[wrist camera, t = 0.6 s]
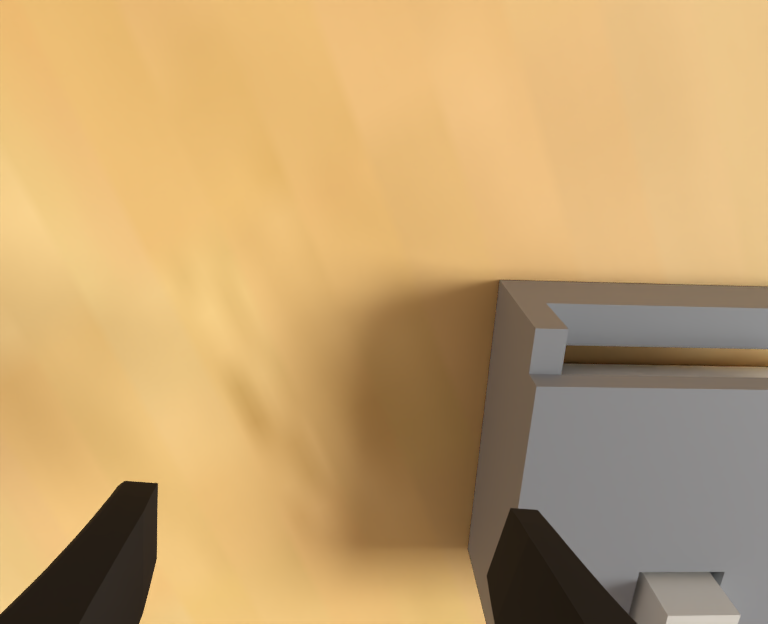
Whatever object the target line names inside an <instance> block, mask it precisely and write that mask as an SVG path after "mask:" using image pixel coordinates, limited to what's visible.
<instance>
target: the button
mask: <svg viewBox="0 0 768 624" xmlns="http://www.w3.org/2000/svg"><path fill="white" fill-rule="evenodd" d="M629 616H630V617H631V618H632V619H633V620H634V621H635V622H636V623H637V624H738V622H739V619H740V616H741V615H740V613H739V612H738V611H737V609H736V608H735V607H734V605H733V604H732V602H731V601H730V600H729V598H728V597H727V596H726V594H725V593H724V591H723V590H722V589H721V587H720V586H719V585H718V583H717V582H716V580H715V579H714V578H713V576H712V575H711V574H710V572H639V576H638V580H637V584H636V588H635V592H634V595H633V599H632V603H631V607H630V611H629Z"/></svg>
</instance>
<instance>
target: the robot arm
mask: <svg viewBox="0 0 768 624" xmlns="http://www.w3.org/2000/svg"><path fill="white" fill-rule="evenodd" d="M157 496H158V483H145V482H131V481H124V482H123V483H121V484H120V485H119V486H118V487H117V488H116V489H115V491H114V492H113V493H112V495H111V496H110V497H109V498H108V500H107V501H106V502H105V503H104V505H103V506H102V507H101V508H100V509H99V511H98V512H97V513H96V514H95V515H94V517H93V518H92V519H91V520H90V521H89V522H88V524H87V525H86V526H85V527H84V528H83V529H82V530H81V532H80V533H79V534H78V535H77V536H76V537H75V538H74V539H73V541H72V542H71V543H70V544H69V545H68V546H67V547H66V548H65V549H64V550H63V551H62V552H61V554H60V555H59V556H58V557H57V558H56V559H55V560H54V561H53V562H52V563H51V564H50V565H49V566H48V568H47V569H46V570H45V571H44V572H43V573H42V574H41V575H40V576H39V577H38V578H37V579H36V580H35V581H34V582H33V583H32V584H31V585H30V586H29V587H28V588H27V589H26V590H25V591H24V592H23V593H22V594H21V595H20V596H19V597H18V598H16V599H15V600H14V601H13V602H12V603H11V604H10V605H9V606H8V607H7V608H6V609H5V610H4V611H3V612H2V613H1V614H0V624H139V622H140V619H141V617H142V614H143V611H144V607H145V603H146V599H147V595H148V591H149V588H150V584H151V579H152V575H153V571H154V567H155V563H156V559H157ZM487 582H488V588H489V595H490V601H491V607H492V612H493V618H494V623H495V624H637V623H636V622H635V621H634V620H633V619H632V618H631V617H630V616H629V614H628V613H627V612H626V611H625V610H624V609H623V608H622V607H621V606H620V605H619V604H618V603H617V601H616V600H615V599H614V598H613V597H612V596H611V595H610V594H609V593H608V591H607V590H606V589H605V588H604V587H603V586H602V585H601V584H600V582H599V581H598V580H597V579H596V578H595V577H594V576H593V574H592V573H591V572H590V571H589V570H588V569H587V567H586V566H585V565H584V564H583V563H582V562H581V560H580V559H579V558H578V557H577V556H576V555H575V553H574V552H573V551H572V550H571V549H570V547H569V546H568V545H567V544H566V543H565V541H564V540H563V539H562V538H561V537H560V535H559V534H558V533H557V532H556V531H555V529H554V528H553V527H552V526H551V525H550V524H549V522H548V521H547V520H546V519H545V518H544V517H543V515H542V514H541V513H540V512H539V511H538V510H533V509H519V508H510V511H509V513H508V516H507V519H506V522H505V525H504V528H503V530H502V533H501V536H500V539H499V542H498V545H497V547H496V550H495V553H494V556H493V559H492V561H491V564H490V567H489V570H488V573H487Z"/></svg>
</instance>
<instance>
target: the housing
mask: <svg viewBox="0 0 768 624" xmlns="http://www.w3.org/2000/svg"><path fill="white" fill-rule="evenodd" d="M566 345H578V346H631V347H683V348H736V349H768V287H754V286H715V285H676V284H637V283H598V282H559V281H520V280H500V281H499V290H498V298H497V306H496V315H495V323H494V332H493V340H492V349H491V357H490V366H489V374H488V383H487V391H486V400H485V408H484V417H483V425H482V433H481V442H480V450H479V459H478V467H477V476H476V484H475V493H474V501H473V510H472V518H471V527H470V535H469V543H468V552H469V556H470V560H471V564H472V568H473V572H474V576H475V580H476V584H477V588H478V592H479V596H480V600H481V604H482V609H483V613H484V617H485V621H486V624H495V623H494V618H493V612H492V607H491V601H490V595H489V588H488V582H487V573H488V570H489V567H490V564H491V561H492V559H493V556H494V553H495V550H496V547H497V545H498V542H499V539H500V536H501V533H502V530H503V528H504V525H505V522H506V519H507V516H508V513H509V511H510V508H519V509H533V510H538V511H539V512H540V513H541V514H542V515H543V517H544V518H545V519H546V520H547V521H548V522H549V524H550V525H551V526H552V527H553V528H554V529H555V531H556V532H557V533H558V534H559V535H560V537H561V538H562V539H563V540H564V541H565V543H566V544H567V545H568V546H569V547H570V549H571V550H572V551H573V552H574V553H575V555H576V556H577V557H578V558H579V559H580V560H581V562H582V563H583V564H584V565H585V566H586V567H587V569H588V570H589V571H590V572H591V573H592V574H593V576H594V577H595V578H596V579H597V580H598V581H599V582H600V584H601V585H602V586H603V587H604V588H605V589H606V590H607V591H608V593H609V594H610V595H611V596H612V597H613V598H614V599H615V600H616V601H617V603H618V604H619V605H620V606H621V607H622V608H623V609H624V610H625V611H626V612H627V613H628V614H629V611H630V607H631V603H632V599H633V595H634V592H635V588H636V584H637V580H638V576H639V572H710V574H711V575H712V576H713V578H714V579H715V580H716V582H717V583H718V585H719V586H720V587H721V589H722V590H723V591H724V593H725V594H726V596H727V597H728V598H729V600H730V601H731V602H732V604H733V605H734V607H735V608H736V609H737V611H738V612H739V613H740V615H741V616H740V619H739V622H738V624H768V378H749V377H686V376H623V375H561V373H562V367H563V361H564V355H565V349H566Z"/></svg>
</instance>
